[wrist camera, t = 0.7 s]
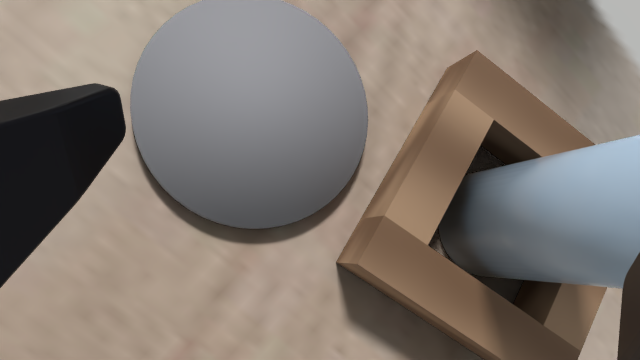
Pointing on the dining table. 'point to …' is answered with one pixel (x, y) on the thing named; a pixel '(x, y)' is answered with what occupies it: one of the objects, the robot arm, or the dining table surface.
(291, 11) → the coaster
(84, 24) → the dining table surface
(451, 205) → the pale blue cylinder
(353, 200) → the dining table surface
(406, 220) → the pocket block
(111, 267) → the dining table surface
